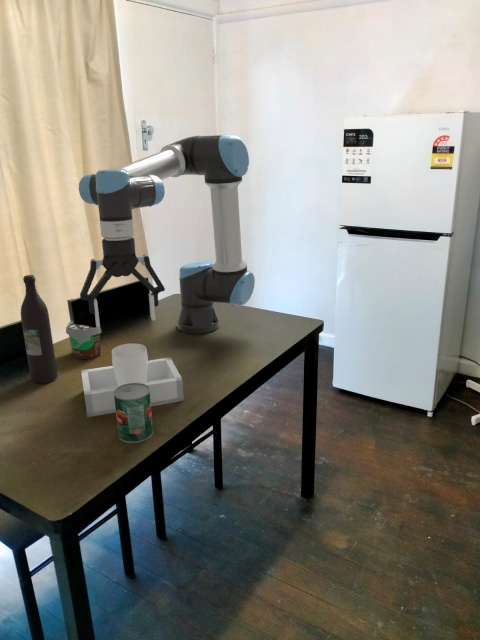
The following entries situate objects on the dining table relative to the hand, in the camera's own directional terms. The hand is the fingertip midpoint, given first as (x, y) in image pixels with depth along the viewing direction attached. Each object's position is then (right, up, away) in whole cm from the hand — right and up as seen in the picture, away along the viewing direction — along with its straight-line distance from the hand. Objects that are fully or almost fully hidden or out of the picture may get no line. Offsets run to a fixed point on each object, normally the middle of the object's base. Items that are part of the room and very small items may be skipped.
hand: (126, 322), depth 128 cm
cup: (0, -18, +7) cm, 20 cm away
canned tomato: (+5, -26, -11) cm, 28 cm away
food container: (-21, -11, +32) cm, 40 cm away
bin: (0, -19, +7) cm, 21 cm away
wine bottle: (-27, -16, +17) cm, 36 cm away
